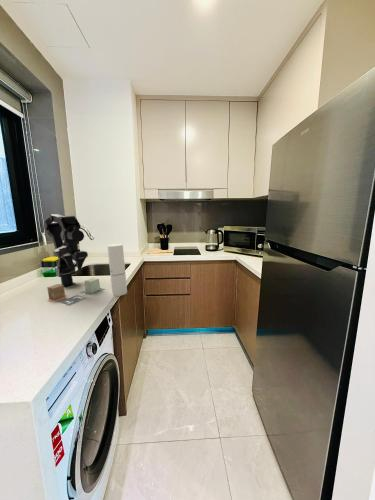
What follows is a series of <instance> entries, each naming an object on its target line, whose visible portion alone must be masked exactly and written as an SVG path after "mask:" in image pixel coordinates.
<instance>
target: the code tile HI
mask: <svg viewBox="0 0 375 500" xmlns="http://www.w3.org/2000/svg"><path fill="white" fill-rule="evenodd" d="M105 290H106V289H105V288H101V287H100V290H99V291H96V292H94V293H89V292H86V289H85V290H83V291H80V293H81V294H85V295H89V296H92V295H94V294H98V293H100V292H103V291H105Z"/></svg>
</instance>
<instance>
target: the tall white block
mask: <svg viewBox="0 0 375 500" xmlns="http://www.w3.org/2000/svg"><path fill="white" fill-rule="evenodd" d="M124 253H125V252H124V244H123V243H116V244H113V243H112V244H108V245H107V257H108V265H109V274H110V284H111V293H112V296H114V297H115V296H116V297H121V296H124V295H126V294H127V293H128V288H127V287H128V286H127V285H128V284H127V277H126V275H127V274H126V265H125V255H124Z"/></svg>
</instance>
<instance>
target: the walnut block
mask: <svg viewBox="0 0 375 500" xmlns="http://www.w3.org/2000/svg"><path fill="white" fill-rule="evenodd" d="M61 284H62V283H57V284H53V285H49V286H47V287H46V288H47V295H48V299H51V300H54V301H53V302H56V301H55V300H58V299H60V298H63V297H65V295H66V293H65V287H64V285H61ZM58 301H59V300H58Z"/></svg>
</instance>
